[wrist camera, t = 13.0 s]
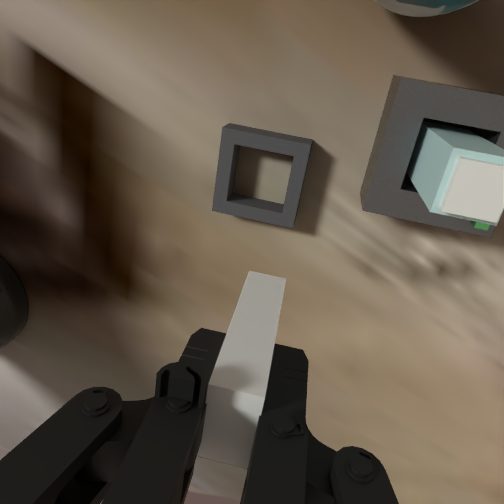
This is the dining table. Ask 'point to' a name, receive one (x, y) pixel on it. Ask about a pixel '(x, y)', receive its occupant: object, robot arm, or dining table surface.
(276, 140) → the holster
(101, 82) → the dining table surface
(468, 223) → the port panel
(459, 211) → the plug
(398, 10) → the vase
